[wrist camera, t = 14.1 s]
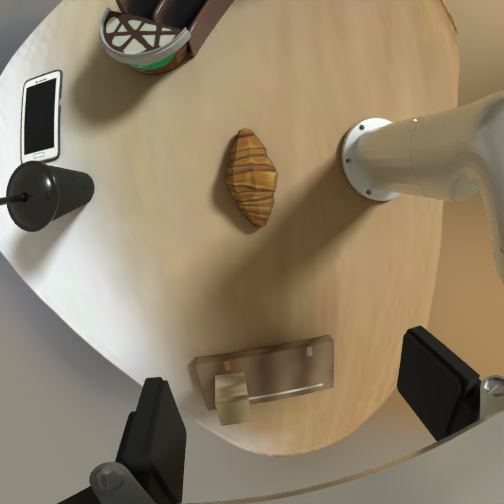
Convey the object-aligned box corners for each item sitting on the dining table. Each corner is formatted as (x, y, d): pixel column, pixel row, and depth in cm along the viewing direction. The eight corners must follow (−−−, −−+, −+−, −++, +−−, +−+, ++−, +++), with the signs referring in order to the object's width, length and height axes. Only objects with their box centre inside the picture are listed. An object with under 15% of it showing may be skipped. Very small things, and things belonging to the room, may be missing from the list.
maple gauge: (243, 371, 46) (247, 399, 39) (247, 392, 47) (252, 421, 41) (215, 375, 46) (215, 404, 39) (220, 396, 47) (221, 425, 40)
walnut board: (329, 334, 48) (333, 340, 46) (330, 380, 51) (333, 387, 49) (195, 357, 47) (194, 364, 45) (208, 402, 49) (207, 410, 47)
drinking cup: (86, 225, 40) (6, 261, 21) (51, 196, 39) (-38, 215, 19) (112, 180, 39) (36, 188, 20) (75, 153, 38) (-12, 145, 18)
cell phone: (24, 167, 37) (20, 167, 36) (26, 82, 34) (23, 80, 33) (61, 158, 38) (58, 158, 37) (64, 69, 34) (61, 67, 33)
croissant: (217, 134, 40) (217, 128, 35) (267, 126, 40) (273, 120, 35) (234, 230, 43) (236, 237, 38) (282, 222, 43) (289, 227, 38)
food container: (104, 69, 35) (77, 46, 25) (124, 35, 34) (104, 5, 24) (175, 94, 37) (162, 72, 28) (196, 58, 36) (190, 28, 27)
